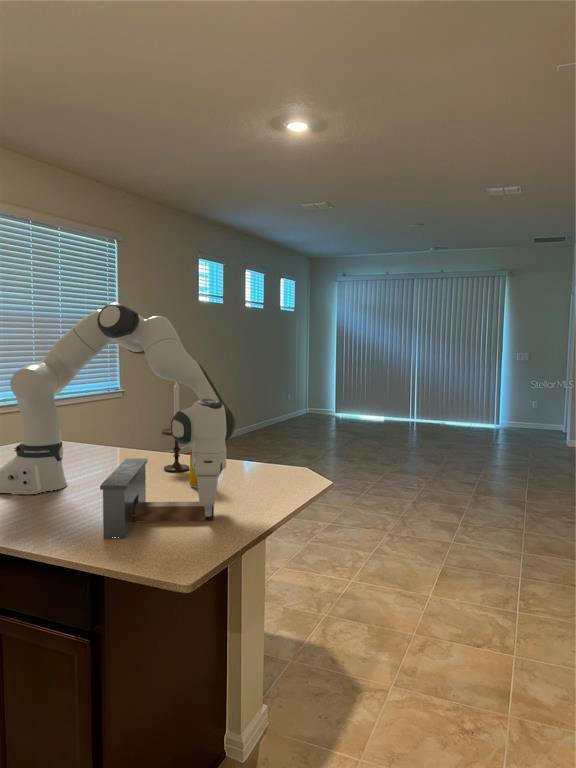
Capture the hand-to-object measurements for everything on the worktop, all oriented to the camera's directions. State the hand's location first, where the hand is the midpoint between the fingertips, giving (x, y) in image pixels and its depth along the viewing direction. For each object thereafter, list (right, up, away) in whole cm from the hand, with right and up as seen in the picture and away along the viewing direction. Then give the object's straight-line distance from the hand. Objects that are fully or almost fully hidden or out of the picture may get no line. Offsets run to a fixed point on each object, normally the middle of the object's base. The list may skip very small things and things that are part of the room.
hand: (209, 512), depth 146 cm
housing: (-21, -1, -2) cm, 22 cm away
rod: (-9, -2, -1) cm, 9 cm away
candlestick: (-20, +3, +54) cm, 57 cm away
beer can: (-8, +1, +32) cm, 32 cm away
